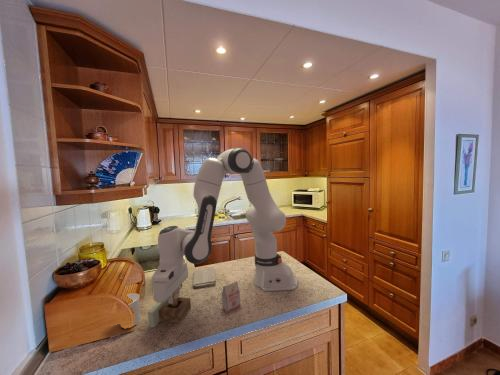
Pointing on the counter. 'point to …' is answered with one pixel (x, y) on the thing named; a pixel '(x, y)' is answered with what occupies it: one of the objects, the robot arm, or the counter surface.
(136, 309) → the white cup
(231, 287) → the tea bag
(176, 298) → the dowel
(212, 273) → the washcloth
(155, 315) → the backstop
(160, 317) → the block
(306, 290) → the counter surface
